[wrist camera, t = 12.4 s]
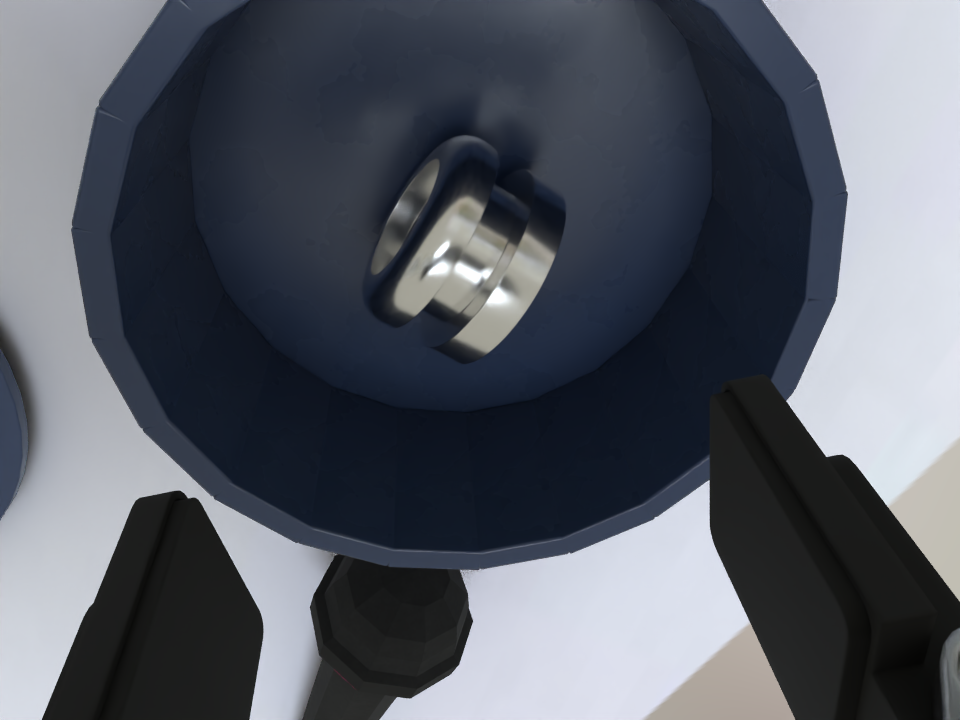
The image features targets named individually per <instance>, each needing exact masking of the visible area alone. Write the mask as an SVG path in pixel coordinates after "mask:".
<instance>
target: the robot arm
mask: <svg viewBox="0 0 960 720" xmlns="http://www.w3.org/2000/svg"><path fill="white" fill-rule="evenodd" d="M710 530H711V535H712V539H713V542H714V545H715V547H716V550H717V552H718V554H719V556H720V559H721V561H722V563H723V565H724V567H725V569H726V571H727V574H728V576H729V578H730V580H731V582H732V584H733V586H734V589H735V591H736V593H737V595H738V597H739V599H740V601H741V604H742V606H743V608H744V610H745V612H746V614H747V617H748V619H749V621H750V623H751V625H752V627H753V629H754V631H755V634H756V635H757V638H758V640H759V642H760V644H761V647H762V649H763V651H764V653H765V655H766V657H767V659H768V662H769V664H770V666H771V668H772V670H773V672H774V674H775V677H776V679H777V681H778V683H779V685H780V687H781V690H782V692H783V694H784V696H785V698H786V700H787V702H788V705H789V707H790V709H791V711H792V713H793V715H794V717H795V720H960V602H959V600H958V599H957V598H956V596H955V595H954V594H953V592H952V591H951V590H950V588H949V587H948V586H947V585H946V583H945V582H944V581H943V579H942V578H941V577H940V575H939V574H938V573H937V571H936V570H935V569H934V568H933V566H932V565H931V563H930V562H929V561H928V559H927V558H926V557H925V555H924V554H923V553H922V552H921V550H920V549H919V548H918V546H917V545H916V544H915V542H914V541H913V540H912V538H911V537H910V536H909V534H908V533H907V532H906V530H905V529H904V528H903V527H902V525H901V524H900V523H899V521H898V520H897V519H896V518H895V516H894V515H893V513H892V512H891V511H890V510H889V508H888V507H887V505H886V504H885V503H884V501H883V500H882V499H881V498H880V496H879V495H878V494H877V492H876V491H875V490H874V488H873V487H872V486H871V484H870V483H869V482H868V480H867V479H866V478H865V476H864V475H863V474H862V473H861V471H860V470H859V469H858V467H857V466H856V465H855V464H854V463H853V462H852V461H851V460H850V459H849V458H848V457H846V456H844V455H835V456H830V457H826V456H825V455H824V453H823V452H822V451H821V449H820V448H819V446H818V445H817V444H816V442H815V441H814V440H813V438H812V437H811V435H810V434H809V433H808V431H807V430H806V428H805V427H804V426H803V424H802V423H801V421H800V420H799V419H798V417H797V416H796V415H795V413H794V412H793V410H792V409H791V408H790V406H789V405H788V403H787V402H786V401H785V399H784V398H783V396H782V395H781V394H780V392H779V391H778V390H777V388H776V387H775V385H774V384H773V383H772V381H771V380H770V379H769V378H768V377H767V376H766V375H764V374H761V375H756V376H751V377H746V378H741V379H736V380H731V381H726V382H724V383H723V384H722V387H721V393H718V394H713V395H711V397H710ZM262 641H263V621H262V616H261V613H260V611H259V609H258V607H257V605H256V603H255V602H254V600H253V598H252V596H251V594H250V592H249V591H248V589H247V587H246V585H245V583H244V581H243V580H242V578H241V576H240V574H239V572H238V570H237V569H236V567H235V565H234V563H233V561H232V559H231V558H230V556H229V554H228V552H227V550H226V548H225V547H224V545H223V543H222V541H221V539H220V538H219V536H218V534H217V532H216V530H215V528H214V527H213V525H212V523H211V521H210V519H209V517H208V516H207V514H206V512H205V510H204V508H203V506H202V505H201V503H200V502H199V500H198V499H196V498H189V499H188V498H187V496H186V495H185V494H184V493H183V492H181V491H172V492H167V493H162V494H157V495H152V496H147V497H142V498H139V499H138V500H136V501H135V503H134V505H133V506H132V509H131V511H130V514H129V516H128V519H127V521H126V524H125V526H124V529H123V531H122V534H121V536H120V539H119V541H118V544H117V546H116V549H115V551H114V554H113V556H112V558H111V561H110V563H109V566H108V568H107V571H106V573H105V576H104V578H103V581H102V583H101V586H100V588H99V591H98V593H97V596H96V598H95V601H94V603H93V604H92V605H91V606H90V607H89V609H88V611H87V612H86V614H85V616H84V618H83V620H82V622H81V625H80V627H79V630H78V632H77V635H76V637H75V640H74V642H73V645H72V647H71V649H70V652H69V654H68V657H67V659H66V662H65V664H64V667H63V669H62V672H61V674H60V676H59V679H58V681H57V684H56V686H55V689H54V691H53V694H52V696H51V698H50V701H49V703H48V706H47V708H46V711H45V713H44V716H43V718H42V720H249V718H250V712H251V706H252V700H253V694H254V688H255V682H256V676H257V670H258V664H259V659H260V653H261V647H262Z"/></svg>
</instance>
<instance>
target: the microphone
mask: <svg viewBox="0 0 960 720" xmlns="http://www.w3.org/2000/svg"><path fill="white" fill-rule="evenodd" d="M310 610H311V615H312V620H313V625H314V630H315V636H316V641H317V646H318V651H319V656H321V657H322V661H321V665H320V668H319V671H318V674H317V677H316V680H315V683H314V686H313V689H312V692H311V695H310V698H309V701H308V704H307V707H306V710H305V713H304V716H303V719H302V720H379V719H380V718H381V717H382V716H383V714H384V713H385V712H386V710H387V709H388V708H389V706H390V705H391V704H392V703H393V701H394V700H395V699H396V697H402V698H412V697H414V696H415V695H417V694H419V693H420V692H422V691H424V690H425V689H427V688H429V687H430V686H432V685H434V684H435V683H437V682H439V681H440V680H442V679H444V678H445V677H447V676H449V675H450V674H451V673H452V672H453V671H454V670H455V669H456V667H457V666H458V665H459V663H460V660H461V657H462V654H463V651H464V648H465V645H466V641H467V638H468V635H469V632H470V629H471V626H472V623H473V619H472V617H471V614H470V611H469V602H468V593H467V590H466V587H465V584H464V581H463V579H462V576H461V573H460V570H459V569H432V568H403V567H389V566H388V565H387V566H383V565H379V564H376V563H372V562H368V561H364V560H360V559H356V558H352V557H349V556H345V555H341V554H338V555H336V556H335V557H334V559H333V561H332V562H331V564H330V566H329V568H328V570H327V572H326V573H325V575H324V577H323V579H322V581H321V583H320V584H319V586H318V588H317V590H316V592H315V593H314V595H313V599H312V602H311V606H310Z"/></svg>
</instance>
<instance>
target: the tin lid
mask: <svg viewBox="0 0 960 720" xmlns="http://www.w3.org/2000/svg"><path fill="white" fill-rule="evenodd" d="M27 454H28V428H27V418H26V414H25V409H24V405H23V400H22V396H21V393H20V390H19V387H18V385H17V382H16V380H15V377H14V375H13V372H12V370H11V367H10V365H9V363H8V361H7V359H6V358H5V356H4V354H3V352H2V350H1V349H0V520H1V518H2V517H3V515H4V513H5V512H6V510H7V509H8V507H9V505H10V504H11V502H12V501H13V499H14V497H15V496H16V494H17V492H18V489H19V486H20V484H21V481H22V478H23V476H24V473H25V467H26V461H27Z"/></svg>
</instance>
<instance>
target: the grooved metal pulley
mask: <svg viewBox="0 0 960 720" xmlns="http://www.w3.org/2000/svg"><path fill="white" fill-rule="evenodd" d="M497 170H498V153H497V150H496V149H495V148H494V147H493V146H492V145H490V144H489V143H487V142H486V141H484V140H483V139H481V138H479V137H476V136H472V135H458V136H454V137H452V138H450V139H448V140H446V141H444V142H443V143H441V144H440V145H439V146H438V147H436V148H435V149H434V150H433V151H432V152H431V153H430V154H429V155H428V156H427V158H426V159H425V160H424V161H423V162H422V163H421V165H420V166H419V167H418V169H417V170H416V171H415V173H414V174H413V175H412V177H411V178H410V180H409V181H408V183H407V184H406V186H405V187H404V189H403V190H402V192H401V193H400V195H399V197H398V198H397V200H396V202H395V203H394V205H393V207H392V209H391V210H390V212H389V214H388V216H387V218H386V220H385V222H384V224H383V226H382V228H381V230H380V232H379V234H378V236H377V238H376V240H375V243H374V245H373V247H372V250H371V252H370V255H369V258H368V261H367V264H366V267H365V271H364V275H363V280H362V298H363V302H364V305H365V307H366V309H367V311H368V312H369V313H370V315H371V316H372V317H373V318H375V319H376V320H377V321H379V322H381V323H383V324H384V325H386V326H388V327H390V328H399V327H402V326H404V325H405V324H407V323H408V322H410V321H411V320H412V319H413V318H415V317H416V316H417V315H418V314H419V313H420V312H423V313H422V318H421V328H420V330H421V338H422V341H423V343H424V344H425V345H426V346H427V347H428V348H430V349H432V350H434V351H436V352H438V353H440V354H442V355H444V356H446V357H448V358H449V359H451V360H453V361H455V362H457V363H460V364H469V363H472V362H475V361H477V360H479V359H481V358H482V357H484V356H485V355H487V354H488V353H489V352H491V351H492V350H493V349H494V348H495V347H496V346H497V345H498V344H500V343H501V342H502V341H503V339H504V338H505V337H506V336H507V335H508V334H509V333H510V332H511V331H512V329H513V328H514V327H515V326H516V324H517V323H518V322H519V321H520V319H521V318H522V317H523V315H524V314H525V312H526V311H527V309H528V308H529V306H530V305H531V303H532V302H533V300H534V299H535V297H536V295H537V294H538V292H539V290H540V288H541V286H542V285H543V283H544V281H545V279H546V277H547V275H548V273H549V271H550V269H551V266H552V264H553V262H554V259H555V257H556V254H557V252H558V249H559V246H560V243H561V240H562V236H563V232H564V227H565V222H566V202H565V198H564V196H563V194H562V193H561V192H560V191H559V190H558V189H556V188H555V187H553V186H552V185H550V184H549V183H547V182H546V181H544V180H543V179H541V178H540V177H538V176H537V175H535V174H534V173H532V172H531V171H529V170H526V169H521V170H517V171H514V172H512V173H511V174H509V175H507V176H506V177H505V178H503V179H502V180H501V181H499V182H498V183H497V184H495V180H496V176H497Z"/></svg>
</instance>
